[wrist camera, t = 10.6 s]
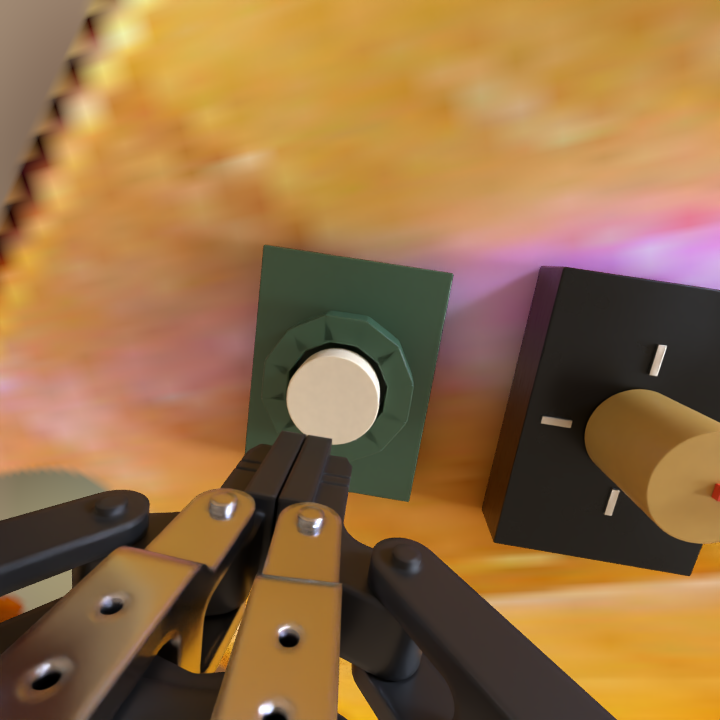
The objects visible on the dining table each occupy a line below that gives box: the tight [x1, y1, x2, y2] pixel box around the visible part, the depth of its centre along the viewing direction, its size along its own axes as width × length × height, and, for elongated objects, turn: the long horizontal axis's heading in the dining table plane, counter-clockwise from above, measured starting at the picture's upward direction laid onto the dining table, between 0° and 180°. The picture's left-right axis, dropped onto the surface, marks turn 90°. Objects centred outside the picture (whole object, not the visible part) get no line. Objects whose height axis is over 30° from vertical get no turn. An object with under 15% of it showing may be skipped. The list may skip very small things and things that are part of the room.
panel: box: [482, 266, 720, 576], centre depth 21 cm, size 14×10×3 cm
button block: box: [245, 245, 453, 502], centre depth 21 cm, size 12×9×4 cm
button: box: [286, 348, 380, 445], centre depth 19 cm, size 4×4×2 cm
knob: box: [585, 389, 720, 544], centre depth 17 cm, size 4×4×5 cm
